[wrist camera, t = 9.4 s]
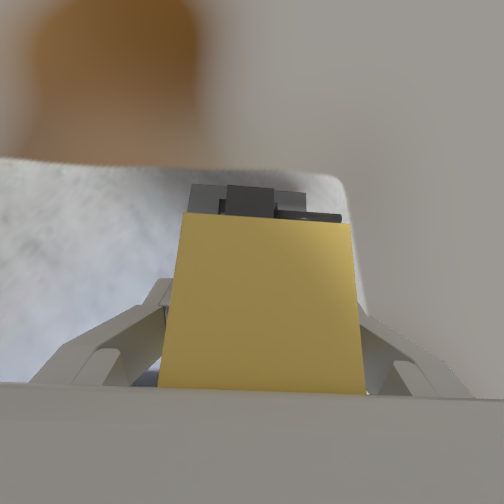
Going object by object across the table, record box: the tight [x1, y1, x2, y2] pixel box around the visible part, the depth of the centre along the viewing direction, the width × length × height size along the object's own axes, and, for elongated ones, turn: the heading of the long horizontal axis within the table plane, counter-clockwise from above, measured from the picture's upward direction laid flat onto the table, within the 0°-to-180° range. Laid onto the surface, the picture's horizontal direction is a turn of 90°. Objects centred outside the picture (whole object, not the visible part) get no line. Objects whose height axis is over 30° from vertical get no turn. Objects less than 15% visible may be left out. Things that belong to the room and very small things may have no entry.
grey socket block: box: [187, 184, 342, 223], centre depth 22 cm, size 14×18×8 cm
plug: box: [157, 212, 366, 395], centre depth 9 cm, size 4×4×9 cm
